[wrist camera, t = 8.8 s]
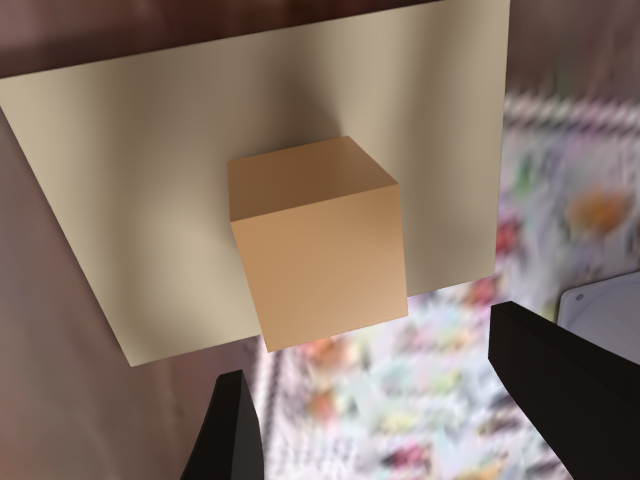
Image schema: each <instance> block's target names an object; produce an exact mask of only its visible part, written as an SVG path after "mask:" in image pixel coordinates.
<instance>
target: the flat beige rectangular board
mask: <svg viewBox="0 0 640 480" xmlns="http://www.w3.org/2000/svg"><path fill="white" fill-rule="evenodd" d="M509 9H510V0H438V1H433V2H427V3H422V4H416V5H410V6H405V7H399V8H393V9H388V10H382V11H377V12H371V13H365V14H360V15H354V16H348V17H343V18H337V19H332V20H326V21H320V22H315V23H309V24H303V25H298V26H292V27H287V28H281V29H275V30H270V31H264V32H258V33H253V34H247V35H242V36H236V37H230V38H225V39H219V40H213V41H208V42H202V43H196V44H191V45H185V46H180V47H174V48H168V49H163V50H157V51H151V52H146V53H140V54H135V55H129V56H123V57H118V58H112V59H106V60H101V61H95V62H90V63H84V64H78V65H73V66H67V67H61V68H56V69H50V70H45V71H39V72H33V73H28V74H22V75H16V76H11V77H5V78H0V106H1V108H2V110H3V112H4V114H5V116H6V118H7V120H8V122H9V124H10V126H11V128H12V130H13V132H14V134H15V136H16V138H17V140H18V142H19V144H20V146H21V148H22V150H23V152H24V154H25V156H26V158H27V160H28V162H29V164H30V166H31V168H32V170H33V172H34V174H35V176H36V178H37V180H38V182H39V184H40V186H41V188H42V190H43V192H44V194H45V196H46V198H47V200H48V202H49V204H50V206H51V208H52V210H53V212H54V214H55V216H56V218H57V220H58V222H59V224H60V226H61V228H62V230H63V232H64V234H65V236H66V238H67V240H68V242H69V244H70V246H71V248H72V250H73V252H74V254H75V256H76V258H77V260H78V262H79V264H80V266H81V268H82V270H83V272H84V274H85V276H86V278H87V280H88V282H89V284H90V286H91V288H92V290H93V292H94V294H95V296H96V298H97V300H98V302H99V304H100V306H101V308H102V310H103V312H104V314H105V316H106V318H107V320H108V322H109V324H110V326H111V328H112V330H113V332H114V334H115V336H116V338H117V340H118V342H119V344H120V346H121V348H122V350H123V352H124V354H125V356H126V358H127V360H128V362H129V364H130V366H131V367H132V366H136V365H140V364H144V363H148V362H152V361H156V360H160V359H164V358H168V357H172V356H176V355H180V354H184V353H188V352H192V351H196V350H200V349H204V348H208V347H211V346H215V345H219V344H223V343H227V342H231V341H235V340H239V339H243V338H247V337H251V336H255V335H259V334H262V330H261V327H260V323H259V320H258V316H257V313H256V309H255V306H254V303H253V299H252V296H251V292H250V289H249V285H248V282H247V278H246V275H245V272H244V268H243V265H242V261H241V258H240V254H239V251H238V247H237V244H236V241H235V237H234V234H233V230H232V227H231V223H230V207H229V186H228V165H227V161H232V160H236V159H241V158H246V157H250V156H255V155H260V154H264V153H269V152H274V151H278V150H283V149H288V148H292V147H297V146H301V145H306V144H311V143H315V142H320V141H325V140H329V139H334V138H339V137H343V136H349V137H351V138H352V139H353V140H354V141H355V142H356V143H357V144H358V145H359V146H360V147H361V148H362V149H363V150H364V151H365V152H366V153H367V154H368V155H369V156H370V157H371V158H372V159H374V160H375V161H376V162H377V163H378V164H379V165H380V166H381V167H382V168H383V169H384V170H385V171H386V172H387V173H388V174H389V175H390V176H391V177H392V178H393V179H394V180H395V181H397V182H398V183H399V193H400V207H401V221H402V235H403V249H404V263H405V277H406V291H407V297H410V296H414V295H418V294H422V293H426V292H430V291H434V290H437V289H441V288H445V287H449V286H453V285H457V284H461V283H465V282H469V281H473V280H477V279H481V278H485V277H489V276H493V275H494V268H495V251H496V233H497V216H498V199H499V182H500V164H501V147H502V130H503V113H504V95H505V78H506V61H507V44H508V26H509Z"/></svg>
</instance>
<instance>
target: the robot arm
mask: <svg viewBox="0 0 640 480" xmlns="http://www.w3.org/2000/svg"><path fill="white" fill-rule="evenodd" d="M488 359H489V361H490V363H491V365H492V366H493V368H494V370H495V372H496V373H497V375H498V377H499V378H500V380H501V382H502V383H503V385H504V387H505V388H506V390H507V391H508V393H509V394H510V395H511V397H512V398H513V399H514V401H515V402H516V403H517V405H518V406H519V407H520V408H521V410H522V411H523V412H524V414H525V415H526V416H527V418H528V419H529V420H530V421H531V423H532V424H533V425H534V427H535V428H536V429H537V430H538V432H539V433H540V434H541V436H542V437H543V438H544V440H545V441H546V442H547V443H548V445H549V446H550V447H551V449H552V450H553V451H554V452H555V454H556V455H557V456H558V458H559V459H560V460H561V462H562V463H563V464H564V466H565V467H566V469H567V470H568V471H569V473H570V474H571V476H572V477H573V479H574V480H640V271H639V272H635V273H632V274H628V275H624V276H620V277H616V278H612V279H609V280H605V281H601V282H597V283H593V284H589V285H586V286H582V287H578V288H574V289H570V290H567V291H566V292H564V293H563V295H562V297H561V302H560V309H559V315H558V322H557V325H556V324H555V323H553V322H551V321H549V320H547V319H545V318H543V317H541V316H540V315H538V314H536V313H534V312H532V311H530V310H528V309H526V308H524V307H522V306H520V305H519V304H517V303H514V302H512V301H508V302H504V303H500V304H496V305H492V306H491V316H490V333H489V350H488ZM180 480H264V459H263V450H262V442H261V435H260V428H259V420H258V417H257V414H256V411H255V408H254V405H253V401H252V398H251V395H250V392H249V389H248V386H247V383H246V380H245V377H244V374H243V370H242V369H241V370H237V371H234V372H230V373H226V374H222V375H219V377H218V378H217V380H216V384H215V387H214V391H213V394H212V398H211V401H210V404H209V407H208V410H207V413H206V416H205V419H204V422H203V425H202V427H201V430H200V433H199V435H198V438H197V441H196V443H195V446H194V448H193V451H192V453H191V456H190V458H189V460H188V462H187V465H186V467H185V469H184V472H183V474H182V476H181V478H180Z"/></svg>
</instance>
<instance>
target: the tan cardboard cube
mask: <svg viewBox="0 0 640 480" xmlns="http://www.w3.org/2000/svg"><path fill="white" fill-rule="evenodd" d="M227 165H228V186H229V207H230V223H231V227H232V230H233V234H234V237H235V241H236V244H237V247H238V251H239V254H240V258H241V261H242V265H243V268H244V272H245V275H246V278H247V282H248V285H249V289H250V292H251V296H252V299H253V303H254V306H255V309H256V313H257V316H258V320H259V323H260V327H261V330H262V334H263V337H264V341H265V344H266V347H267V351H268V353H269V352H273V351H276V350H280V349H284V348H288V347H292V346H295V345H299V344H303V343H307V342H311V341H314V340H318V339H322V338H326V337H330V336H334V335H337V334H341V333H345V332H349V331H353V330H356V329H360V328H364V327H368V326H372V325H375V324H379V323H383V322H387V321H391V320H394V319H398V318H402V317H406V316H408V305H407V291H406V277H405V263H404V249H403V235H402V221H401V207H400V193H399V183H398V182H397V181H395V180H394V179H393V178H392V177H391V176H390V175H389V174H388V173H387V172H386V171H385V170H384V169H383V168H382V167H381V166H380V165H379V164H378V163H377V162H376V161H375V160H374V159H372V158H371V157H370V156H369V155H368V154H367V153H366V152H365V151H364V150H363V149H362V148H361V147H360V146H359V145H358V144H357V143H356V142H355V141H354V140H353V139H352V138H351V137H349V136H343V137H339V138H334V139H329V140H325V141H320V142H315V143H311V144H306V145H301V146H297V147H292V148H288V149H283V150H278V151H274V152H269V153H264V154H260V155H255V156H250V157H246V158H241V159H236V160H232V161H227Z"/></svg>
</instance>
